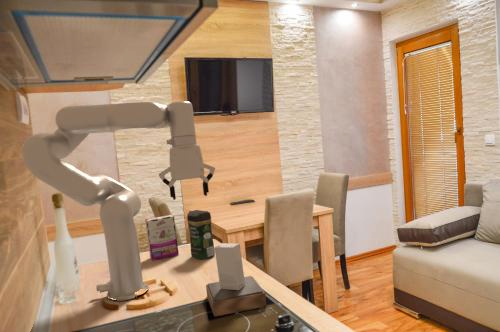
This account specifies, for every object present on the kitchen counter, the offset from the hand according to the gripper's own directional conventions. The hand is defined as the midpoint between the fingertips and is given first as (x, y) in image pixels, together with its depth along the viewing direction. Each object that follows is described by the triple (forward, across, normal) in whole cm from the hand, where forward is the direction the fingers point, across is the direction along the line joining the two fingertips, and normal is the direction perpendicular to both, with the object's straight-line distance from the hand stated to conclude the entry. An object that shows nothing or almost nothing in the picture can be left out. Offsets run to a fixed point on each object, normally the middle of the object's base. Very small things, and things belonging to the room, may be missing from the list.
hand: (190, 197), depth 123 cm
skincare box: (+24, +8, -17) cm, 31 cm away
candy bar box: (+28, -10, +41) cm, 51 cm away
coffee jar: (+28, +5, +32) cm, 43 cm away
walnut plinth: (+28, +8, -17) cm, 34 cm away
